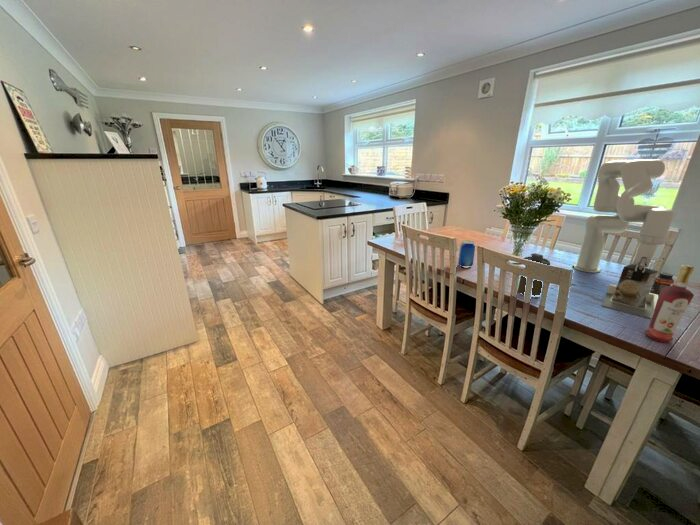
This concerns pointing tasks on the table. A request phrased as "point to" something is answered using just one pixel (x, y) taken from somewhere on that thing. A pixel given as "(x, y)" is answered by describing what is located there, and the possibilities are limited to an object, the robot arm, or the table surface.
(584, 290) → the table surface
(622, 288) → the coffee box
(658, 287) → the supplement bottle
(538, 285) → the canister
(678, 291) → the liquor
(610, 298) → the corner arena
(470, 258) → the beer can
